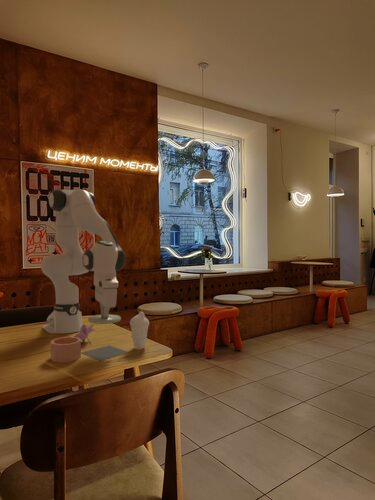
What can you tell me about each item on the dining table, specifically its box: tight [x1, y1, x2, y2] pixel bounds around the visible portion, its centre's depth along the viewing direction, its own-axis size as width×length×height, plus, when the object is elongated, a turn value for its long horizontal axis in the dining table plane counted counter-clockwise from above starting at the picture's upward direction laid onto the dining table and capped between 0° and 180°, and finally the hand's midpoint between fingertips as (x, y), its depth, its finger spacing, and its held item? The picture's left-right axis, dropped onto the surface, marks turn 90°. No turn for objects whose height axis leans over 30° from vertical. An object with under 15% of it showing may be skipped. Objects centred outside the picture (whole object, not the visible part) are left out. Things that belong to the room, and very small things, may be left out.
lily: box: [73, 323, 95, 345], centre depth 158 cm, size 12×12×10 cm
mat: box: [81, 344, 130, 362], centre depth 146 cm, size 14×14×1 cm
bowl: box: [50, 336, 82, 364], centre depth 140 cm, size 11×11×7 cm
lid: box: [87, 307, 122, 325], centre depth 146 cm, size 13×13×5 cm
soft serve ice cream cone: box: [129, 311, 150, 350], centre depth 153 cm, size 8×8×16 cm
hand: (104, 314), depth 146 cm, fingers closed on lid, 3 cm apart
